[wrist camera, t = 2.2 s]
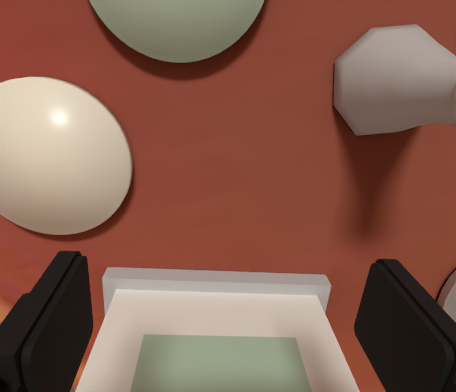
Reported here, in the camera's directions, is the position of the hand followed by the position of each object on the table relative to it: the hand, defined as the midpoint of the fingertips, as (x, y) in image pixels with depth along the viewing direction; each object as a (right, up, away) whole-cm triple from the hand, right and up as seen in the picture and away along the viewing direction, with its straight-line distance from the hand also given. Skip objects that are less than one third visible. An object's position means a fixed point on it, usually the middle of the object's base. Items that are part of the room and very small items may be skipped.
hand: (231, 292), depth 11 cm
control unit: (-1, -7, +19) cm, 20 cm away
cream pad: (-12, +6, +13) cm, 19 cm away
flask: (+10, +11, +12) cm, 19 cm away
